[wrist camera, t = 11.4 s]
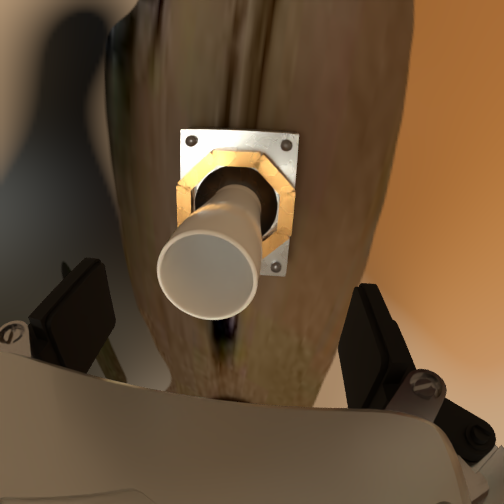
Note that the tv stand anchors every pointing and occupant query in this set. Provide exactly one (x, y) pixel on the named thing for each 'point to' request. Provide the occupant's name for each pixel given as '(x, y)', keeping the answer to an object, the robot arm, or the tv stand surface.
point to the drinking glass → (215, 256)
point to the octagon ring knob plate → (243, 179)
